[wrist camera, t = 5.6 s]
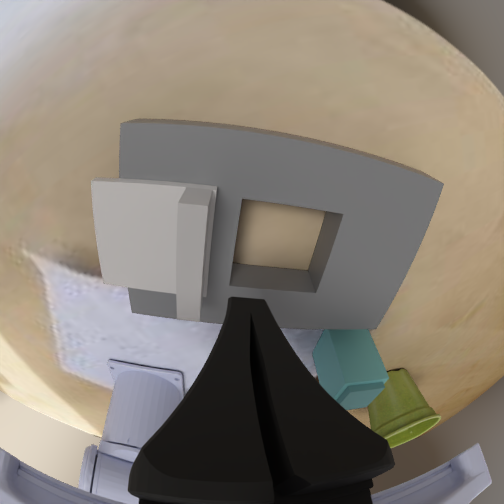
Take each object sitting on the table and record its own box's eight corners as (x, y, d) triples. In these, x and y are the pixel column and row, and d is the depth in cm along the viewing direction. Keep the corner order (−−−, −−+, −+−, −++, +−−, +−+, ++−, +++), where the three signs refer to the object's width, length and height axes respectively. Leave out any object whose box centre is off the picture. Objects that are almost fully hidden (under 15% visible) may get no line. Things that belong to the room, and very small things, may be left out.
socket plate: (365, 308, 21) (375, 329, 19) (140, 290, 19) (132, 312, 17) (422, 171, 15) (443, 183, 13) (137, 118, 13) (120, 123, 11)
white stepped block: (206, 290, 16) (203, 322, 14) (107, 277, 15) (92, 305, 13) (217, 186, 13) (213, 206, 10) (96, 177, 12) (71, 195, 10)
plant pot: (368, 404, 33) (383, 453, 25) (340, 389, 29) (356, 451, 21) (422, 372, 30) (444, 420, 22) (407, 350, 26) (435, 411, 18)
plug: (349, 352, 24) (368, 408, 19) (312, 353, 24) (326, 414, 18) (365, 324, 22) (391, 384, 17) (326, 324, 22) (347, 389, 16)
